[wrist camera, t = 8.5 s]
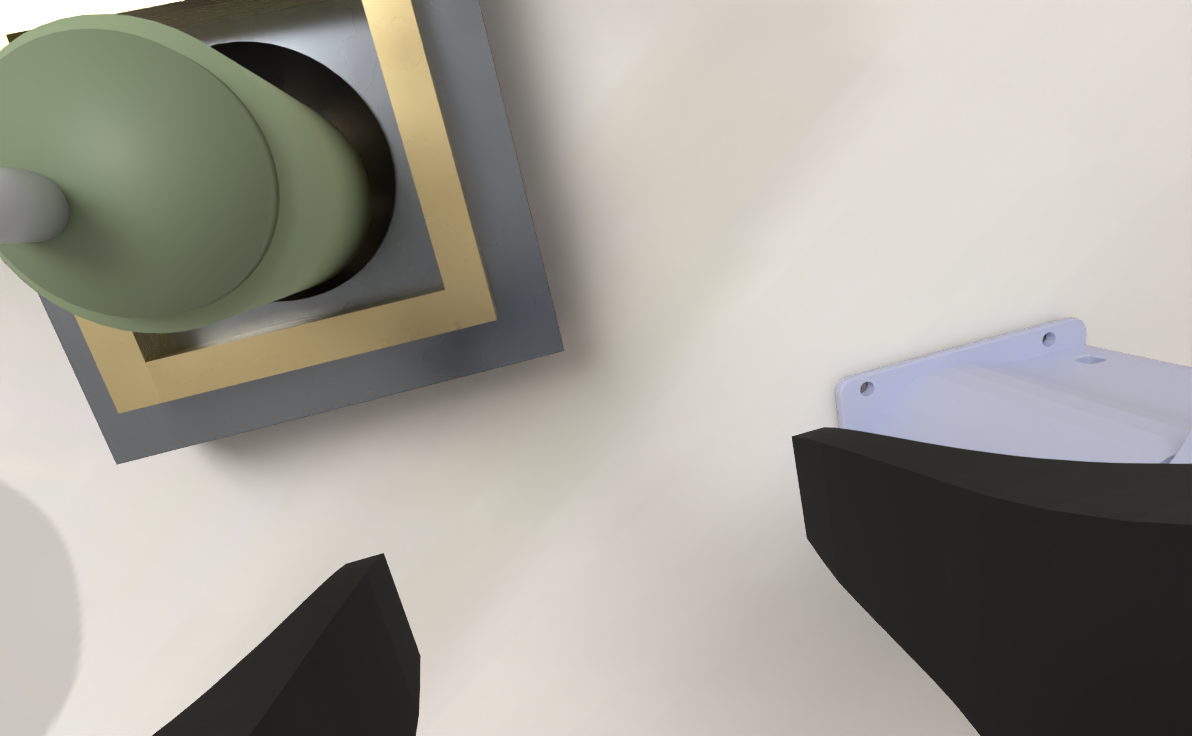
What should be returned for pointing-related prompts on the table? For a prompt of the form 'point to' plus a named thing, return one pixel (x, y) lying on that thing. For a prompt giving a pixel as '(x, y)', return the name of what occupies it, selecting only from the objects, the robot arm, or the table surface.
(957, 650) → the robot arm
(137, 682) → the table surface
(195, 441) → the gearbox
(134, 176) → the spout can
